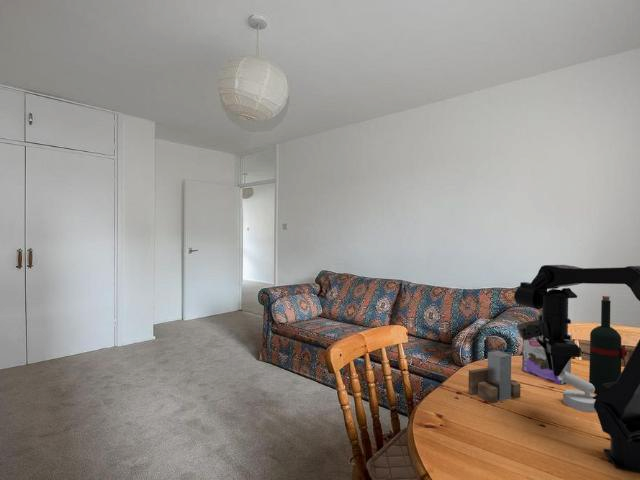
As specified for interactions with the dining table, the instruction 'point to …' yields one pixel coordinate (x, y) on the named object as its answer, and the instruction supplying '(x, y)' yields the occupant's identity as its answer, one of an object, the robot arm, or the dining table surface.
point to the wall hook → (578, 393)
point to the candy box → (539, 361)
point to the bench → (487, 386)
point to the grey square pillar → (500, 373)
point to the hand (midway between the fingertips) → (553, 372)
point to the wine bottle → (605, 350)
